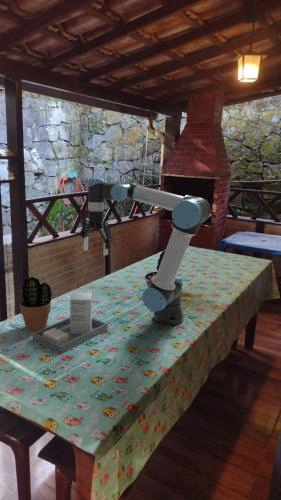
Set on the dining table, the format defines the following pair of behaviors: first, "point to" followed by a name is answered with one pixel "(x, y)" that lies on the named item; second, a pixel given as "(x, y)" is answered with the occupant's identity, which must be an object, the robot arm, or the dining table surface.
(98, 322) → the grey shallow rectangular tray
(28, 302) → the potted plant
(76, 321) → the supplement box
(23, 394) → the dining table surface
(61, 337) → the beige block
